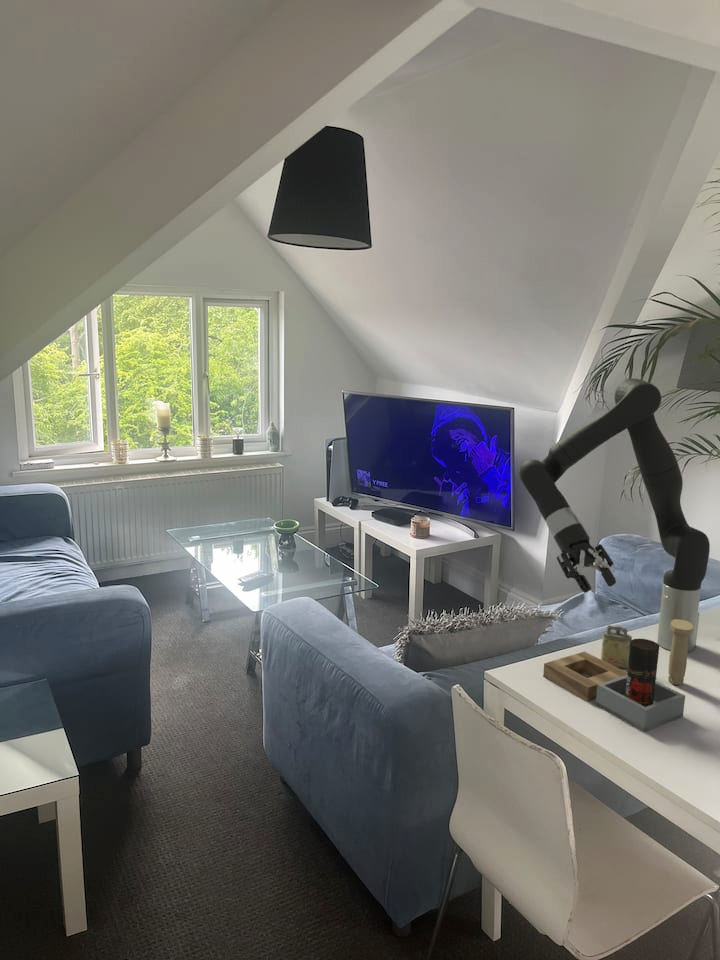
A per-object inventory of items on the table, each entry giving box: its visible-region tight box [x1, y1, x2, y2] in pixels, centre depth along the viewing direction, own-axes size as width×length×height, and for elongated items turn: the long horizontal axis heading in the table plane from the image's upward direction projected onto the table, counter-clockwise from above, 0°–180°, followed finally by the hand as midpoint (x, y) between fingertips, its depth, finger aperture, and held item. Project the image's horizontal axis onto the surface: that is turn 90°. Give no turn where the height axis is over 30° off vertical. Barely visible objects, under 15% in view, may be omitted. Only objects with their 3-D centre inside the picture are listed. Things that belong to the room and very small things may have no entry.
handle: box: [668, 619, 693, 686], centre depth 172 cm, size 5×6×15 cm
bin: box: [595, 675, 686, 733], centre depth 160 cm, size 13×13×5 cm
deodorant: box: [625, 638, 660, 707], centre depth 159 cm, size 6×6×15 cm
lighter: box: [600, 625, 633, 669], centre depth 182 cm, size 7×4×10 cm, turn 67°
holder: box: [542, 651, 628, 702], centre depth 173 cm, size 14×14×4 cm
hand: (600, 587), depth 170 cm, fingers open, 8 cm apart
